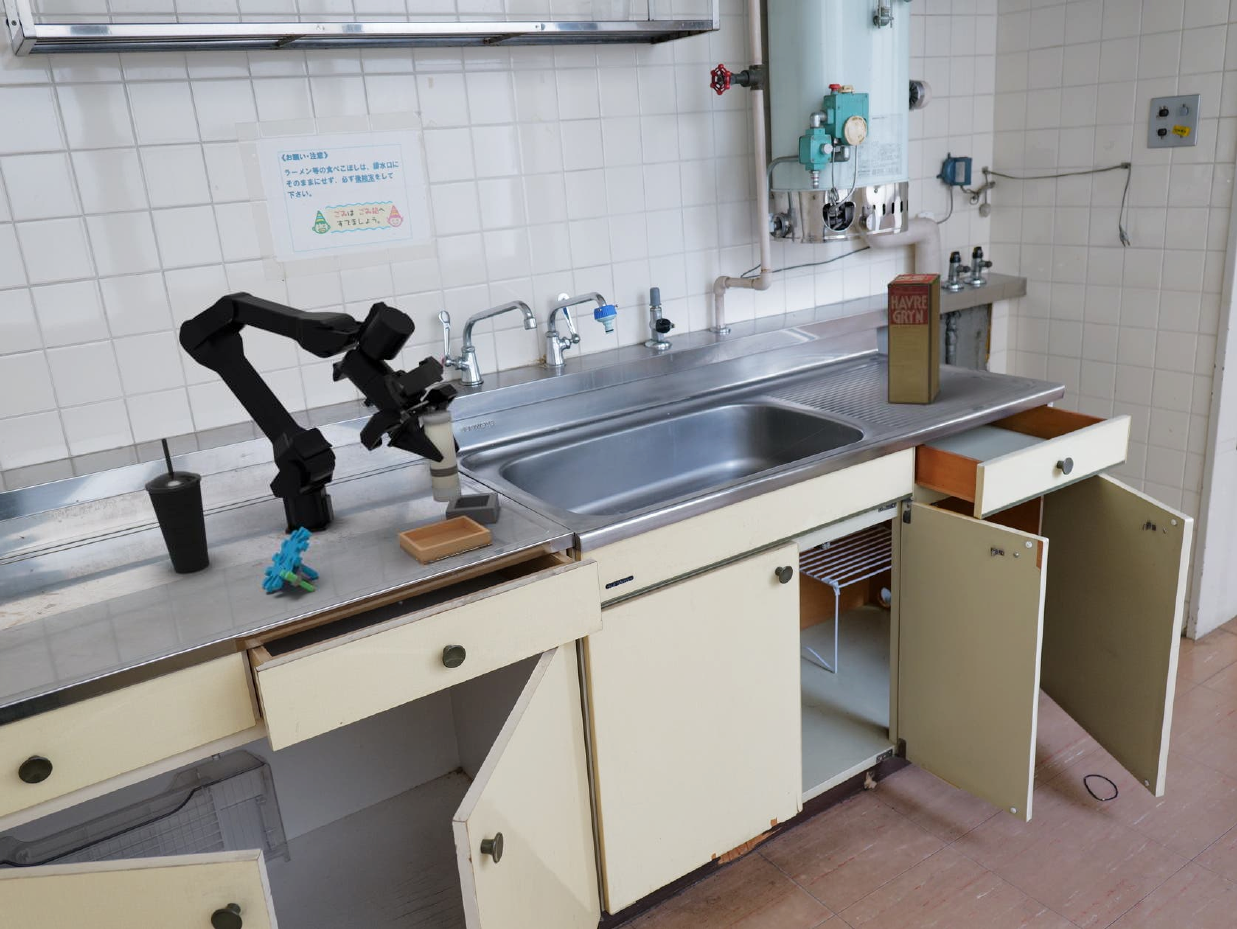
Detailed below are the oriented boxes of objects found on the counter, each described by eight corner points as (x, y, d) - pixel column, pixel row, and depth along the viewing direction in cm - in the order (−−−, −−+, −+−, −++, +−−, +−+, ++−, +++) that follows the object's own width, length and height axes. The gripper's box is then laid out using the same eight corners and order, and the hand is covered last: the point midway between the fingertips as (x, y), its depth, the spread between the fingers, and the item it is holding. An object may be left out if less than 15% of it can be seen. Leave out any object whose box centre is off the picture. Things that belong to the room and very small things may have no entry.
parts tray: (422, 565, 143) (420, 550, 142) (399, 547, 150) (397, 533, 149) (491, 544, 148) (489, 531, 147) (466, 528, 155) (464, 515, 155)
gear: (258, 564, 143) (301, 513, 142) (294, 583, 146) (336, 533, 145) (257, 604, 134) (303, 549, 132) (295, 624, 136) (340, 570, 135)
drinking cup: (185, 581, 144) (155, 449, 138) (153, 572, 148) (123, 444, 142) (230, 561, 150) (203, 434, 144) (198, 553, 154) (170, 429, 148)
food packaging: (896, 388, 218) (897, 273, 211) (941, 389, 214) (943, 272, 207) (885, 403, 207) (886, 282, 199) (932, 405, 203) (934, 282, 195)
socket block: (447, 526, 157) (445, 511, 156) (453, 510, 164) (451, 495, 163) (495, 522, 157) (493, 507, 156) (499, 506, 164) (497, 492, 163)
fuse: (428, 501, 148) (416, 417, 144) (442, 492, 152) (430, 409, 148) (453, 502, 146) (441, 417, 142) (466, 493, 150) (455, 410, 146)
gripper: (364, 357, 135) (443, 438, 134) (439, 331, 151) (510, 403, 150) (327, 411, 141) (402, 489, 140) (404, 380, 157) (472, 450, 156)
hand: (450, 456), depth 146 cm, fingers closed on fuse, 4 cm apart
